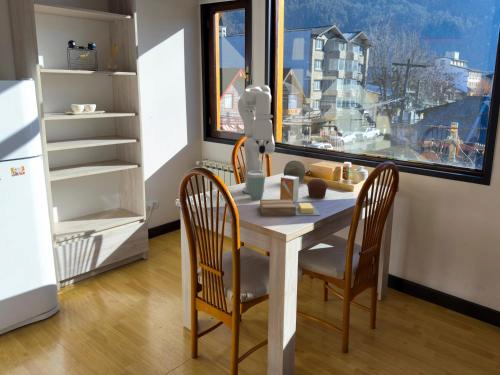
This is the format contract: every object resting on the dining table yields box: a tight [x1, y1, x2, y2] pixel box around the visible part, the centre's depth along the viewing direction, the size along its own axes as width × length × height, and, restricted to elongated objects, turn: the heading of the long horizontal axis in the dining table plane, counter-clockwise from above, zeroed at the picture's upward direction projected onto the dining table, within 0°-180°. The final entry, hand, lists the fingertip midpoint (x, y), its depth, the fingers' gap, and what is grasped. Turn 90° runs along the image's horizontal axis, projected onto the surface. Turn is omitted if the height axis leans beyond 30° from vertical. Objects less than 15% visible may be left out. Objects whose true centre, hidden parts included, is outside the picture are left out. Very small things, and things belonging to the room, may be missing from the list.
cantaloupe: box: [283, 160, 306, 183], centre depth 260 cm, size 14×14×15 cm
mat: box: [294, 204, 321, 217], centre depth 208 cm, size 16×12×1 cm
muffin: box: [306, 178, 329, 200], centre depth 233 cm, size 12×11×10 cm
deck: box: [259, 198, 296, 217], centre depth 207 cm, size 14×16×4 cm
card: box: [298, 202, 314, 213], centre depth 207 cm, size 9×6×2 cm, turn 2°
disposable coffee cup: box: [245, 170, 266, 201], centre depth 227 cm, size 11×11×15 cm
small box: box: [279, 175, 300, 203], centre depth 225 cm, size 8×6×13 cm
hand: (261, 153), depth 214 cm, fingers closed
